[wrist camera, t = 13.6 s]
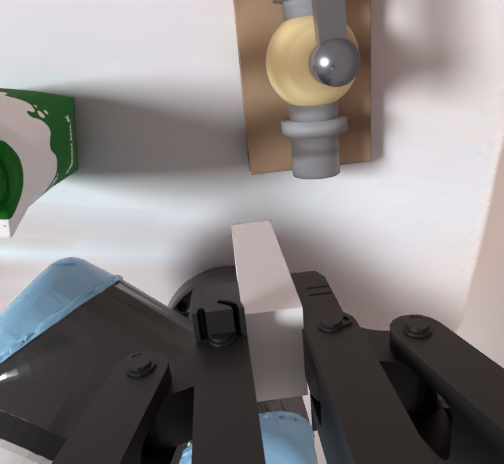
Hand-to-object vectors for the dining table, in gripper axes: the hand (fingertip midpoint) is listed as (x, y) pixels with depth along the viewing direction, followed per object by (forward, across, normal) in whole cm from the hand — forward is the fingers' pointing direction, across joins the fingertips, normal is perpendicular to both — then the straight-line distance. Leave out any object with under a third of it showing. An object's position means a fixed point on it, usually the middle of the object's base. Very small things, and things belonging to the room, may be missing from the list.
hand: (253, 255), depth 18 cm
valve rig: (+30, +8, +6) cm, 32 cm away
